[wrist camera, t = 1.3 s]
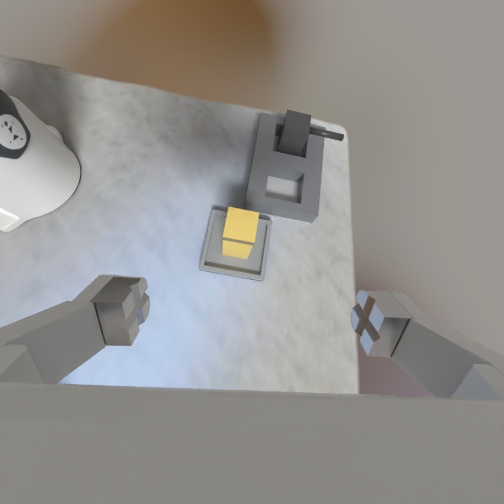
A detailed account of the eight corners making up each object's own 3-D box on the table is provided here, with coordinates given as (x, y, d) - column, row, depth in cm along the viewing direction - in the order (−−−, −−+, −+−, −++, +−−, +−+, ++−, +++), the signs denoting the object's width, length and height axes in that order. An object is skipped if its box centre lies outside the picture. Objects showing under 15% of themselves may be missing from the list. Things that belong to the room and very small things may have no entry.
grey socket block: (243, 210, 40) (247, 187, 33) (258, 127, 46) (265, 92, 38) (321, 226, 41) (341, 207, 34) (327, 143, 47) (346, 111, 40)
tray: (199, 270, 37) (199, 268, 35) (212, 212, 40) (212, 209, 38) (262, 281, 37) (263, 279, 36) (270, 224, 40) (272, 221, 39)
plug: (222, 254, 37) (222, 235, 29) (226, 231, 39) (228, 206, 30) (247, 259, 38) (255, 242, 29) (251, 235, 39) (259, 212, 30)
